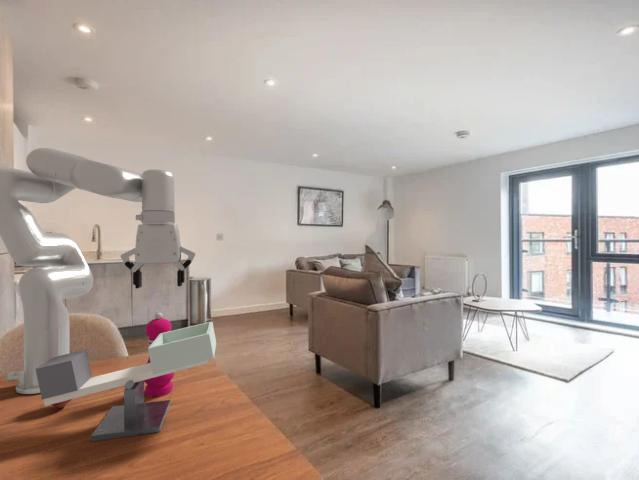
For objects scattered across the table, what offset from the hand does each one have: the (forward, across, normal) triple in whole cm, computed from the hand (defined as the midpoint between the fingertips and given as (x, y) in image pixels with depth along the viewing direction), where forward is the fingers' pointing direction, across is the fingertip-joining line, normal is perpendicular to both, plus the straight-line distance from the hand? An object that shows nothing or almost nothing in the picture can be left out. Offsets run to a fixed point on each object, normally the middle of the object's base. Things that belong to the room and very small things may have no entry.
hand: (159, 286), depth 85 cm
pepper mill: (+27, 0, 0) cm, 27 cm away
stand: (+26, -2, -14) cm, 30 cm away
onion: (+26, -20, -3) cm, 34 cm away
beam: (+18, -1, -14) cm, 23 cm away
